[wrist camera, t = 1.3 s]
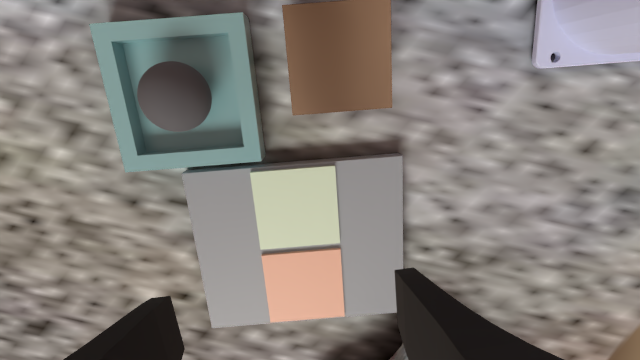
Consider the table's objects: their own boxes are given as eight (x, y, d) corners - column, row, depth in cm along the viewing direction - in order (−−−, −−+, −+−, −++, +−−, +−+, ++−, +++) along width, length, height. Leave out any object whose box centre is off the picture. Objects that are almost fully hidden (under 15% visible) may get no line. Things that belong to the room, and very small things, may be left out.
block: (367, 20, 17) (390, -3, 12) (370, 100, 18) (392, 107, 14) (289, 26, 17) (282, 5, 12) (296, 106, 18) (292, 115, 13)
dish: (248, 18, 17) (242, 12, 15) (265, 154, 19) (261, 161, 17) (109, 29, 17) (89, 24, 15) (140, 164, 19) (125, 172, 17)
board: (398, 152, 19) (403, 156, 18) (400, 303, 22) (404, 314, 21) (186, 170, 19) (180, 174, 18) (215, 319, 22) (211, 330, 21)
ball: (213, 60, 17) (192, 55, 14) (223, 124, 18) (205, 133, 15) (150, 65, 17) (114, 62, 14) (163, 129, 18) (132, 139, 15)
